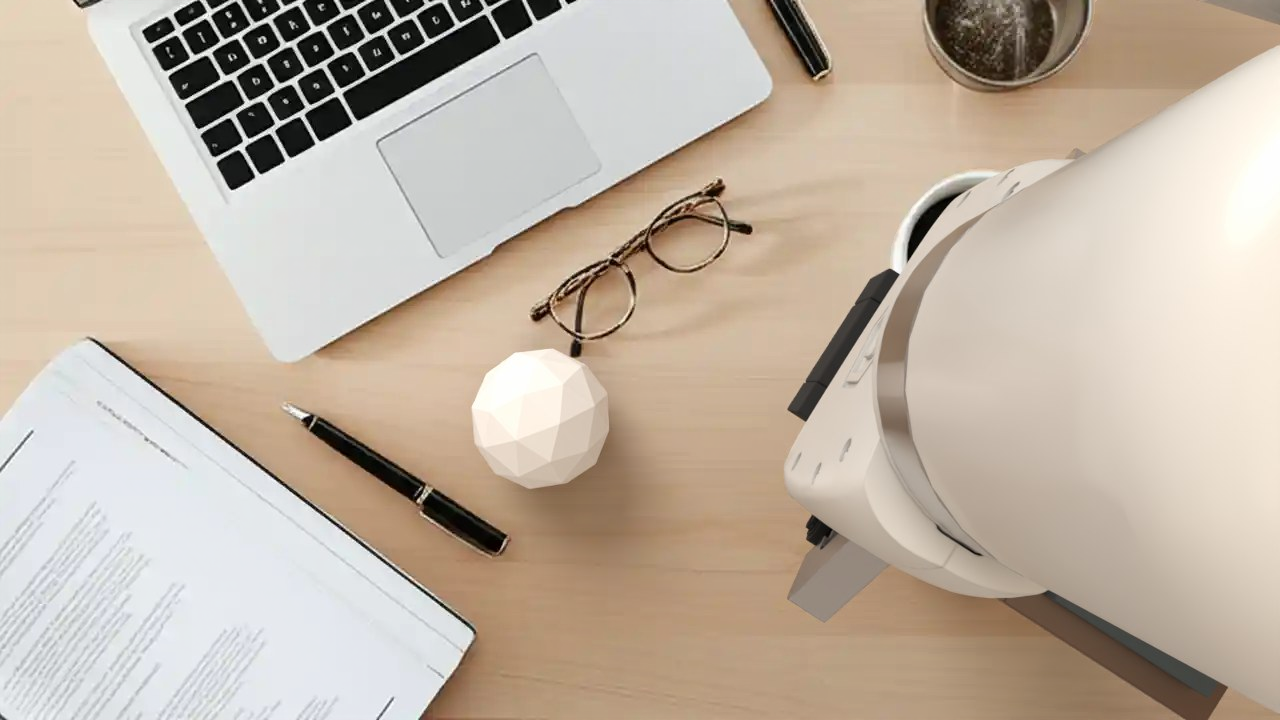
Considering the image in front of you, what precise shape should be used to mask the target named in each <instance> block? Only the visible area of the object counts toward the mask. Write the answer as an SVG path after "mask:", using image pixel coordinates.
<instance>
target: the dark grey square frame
mask: <svg viewBox="0 0 1280 720" xmlns="http://www.w3.org/2000/svg"><path fill="white" fill-rule="evenodd" d="M899 275H900V273H899V272H898V271H896V270H894V269H892V268H891V267H890V268H889V267H888V268H887V269H885V270H883V271H882V272H880V273H877V274H876V275H875V276H872V277H871V278H870V279H869V280H868V282H867V284H865V286H864V287H863V289H862V291H861V293H860V294H859V295H858V297H857V299H856V300H855V302H854V305H853V306H852V307H851V308H850V310H849V311H848V313H847V315H845V317H844V319H843V321H842V323H841V324H840V325H839V326H838V328H837V330H836V332H835V333H834V335H833V336H832V338H831V339H830V341H829V343H828V344H827V346H826V347H825V349H824V351H823V352H822V354H821V355H820V357H819V358H818V360H817V361H816V363H815V365H814V366H813V368H812V369H811V371H810V372H809V374H808V375H807V377H806V378H805V382H803V383H802V385H801V386H800V388H799V389H798V391H797V393H796V394H795V395H794V397H793V398H792V400H791V402H790V403H789V404H788V406H787V409H786V410H787V411H788V412H789V413H791V414H793V415H794V416H796V417H797V418H799V419H800V420H801V421H803V422H805V423H806V422H807V420H808V418H809V417H810V415H811V413H812V412H813V410H814V409H815V407H816V405H817V404H818V402H819V400H820V399H821V397H822V396H823V394H824V392H825V391H826V389H827V388H828V386H829V385H830V383H831V381H832V380H833V378H834V377H835V375H836V373H837V372H838V370H839V369H840V367H841V365H842V364H843V362H844V361H845V359H846V358H847V356H848V354H849V353H850V351H851V350H852V348H853V347H854V345H855V343H856V342H857V340H858V339H859V337H860V336H861V334H862V332H863V331H864V329H865V328H866V326H867V325H868V323H869V321H870V320H871V318H872V317H873V315H874V314H875V312H876V311H877V309H878V307H879V306H880V304H881V303H882V301H883V300H884V298H885V297H886V295H887V294H888V292H889V290H890V289H891V287H892V286H893V284H894V283H895V281H896V280H897V278H898V277H899Z"/></svg>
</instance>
